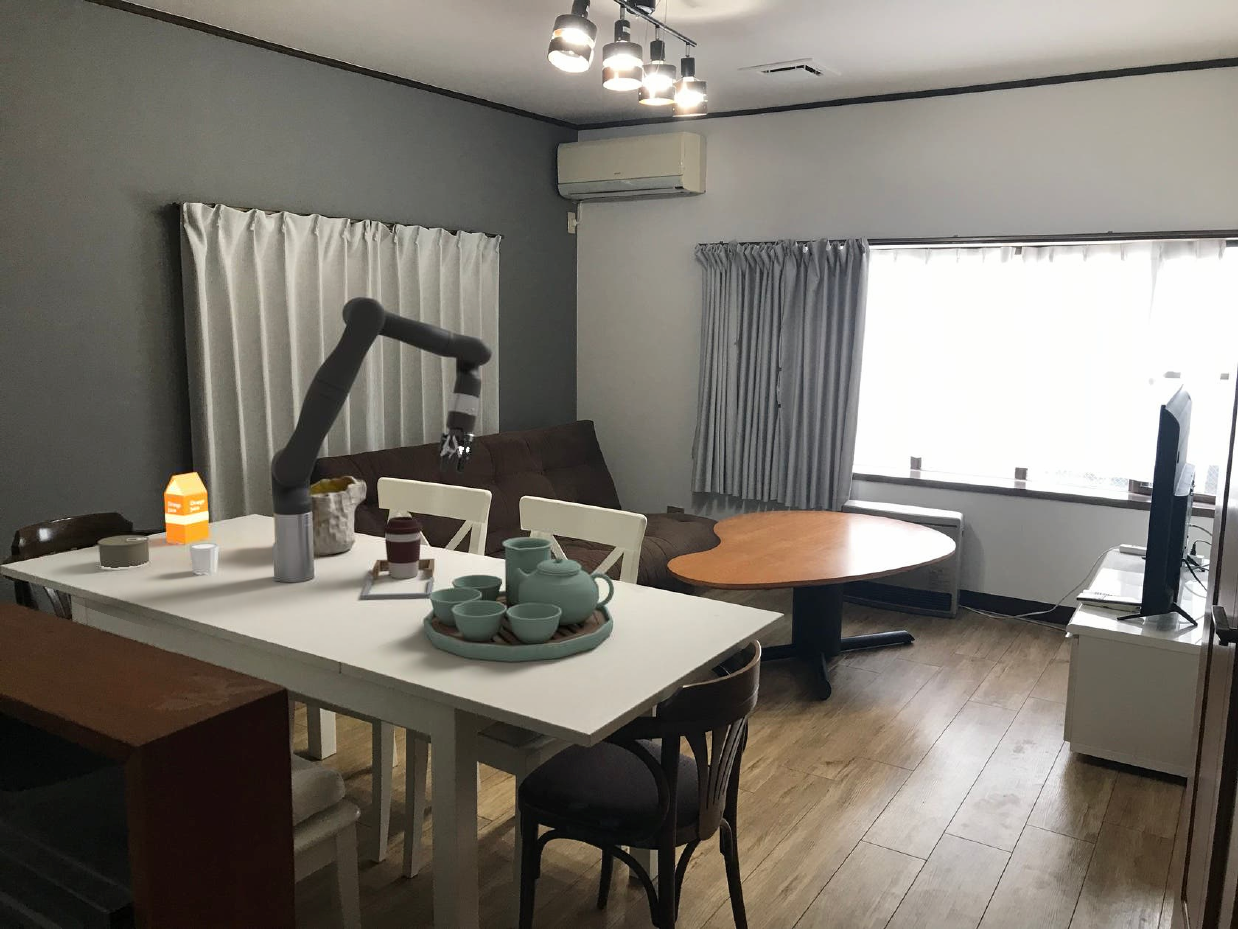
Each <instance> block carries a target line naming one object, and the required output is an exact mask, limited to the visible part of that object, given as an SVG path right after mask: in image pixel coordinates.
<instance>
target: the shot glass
mask: <svg viewBox="0 0 1238 929" xmlns="http://www.w3.org/2000/svg"><path fill="white" fill-rule="evenodd" d="M189 553H190V554H189V555H190V559H191V565H192V567H191V568H192V573H193V572H195V573H201V574H203V573H204V574H205V573H211V572H216V571H217V572H218V561H219V544H216V543H209V542H208V543H200V544H198V543H197V544H193V545H190V546H189ZM217 572H216V573H217Z"/></svg>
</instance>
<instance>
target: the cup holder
mask: <svg viewBox="0 0 1238 929" xmlns="http://www.w3.org/2000/svg"><path fill="white" fill-rule="evenodd" d="M380 569H389V566H388V561H387V559H376V560H375V563H374V565H373V567H372V570H371V575H372V576H371V579H373V581H377V580H378V578H379V577H378V576H379V574H380V572H381V570H380ZM418 570H428V578H427V579H428V580H430V577H434V572H435V558H420V559H419V563H418Z"/></svg>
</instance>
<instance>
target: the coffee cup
mask: <svg viewBox="0 0 1238 929" xmlns="http://www.w3.org/2000/svg"><path fill="white" fill-rule="evenodd" d="M422 531H423V524H422V523H421V522H419V521H418V520H417V518H415V517H412V516H394V517H391V518H389V519H388V522H387V523H385V524H383V525H382V532H383V534H385V539H384V542H385V550H386V553H385V554H386V560H387V561H388V566H389V570H388V575H389V577H390V578H392V577H393V579H397V578H398V580H407V579H412V578H415V577H417V576H418V574H419V569H418V563H419V559H421V557H420V556H421V542H422V540H421V532H422ZM406 578H407V579H406Z"/></svg>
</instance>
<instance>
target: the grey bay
mask: <svg viewBox="0 0 1238 929" xmlns="http://www.w3.org/2000/svg"><path fill="white" fill-rule="evenodd" d="M433 583H435V577H434V576H433V577H430V579H428V585H427V591H426V592H402V593H401V592H399V593H396V592H394V593H393V592H392V593H370V592H371V590H370V589H372V587H371V586H373V585H374V580H373V579H372V578H369V579H368V581H367V583H366V585H365V588H364V590H363V592H362V594H361V600H388V599H389V600H392V599H393V598H398V599H397V600H399V598H401V599H430V598H429V595H430V594H431V593H432V592H433V588H434V584H433ZM372 584H373V585H372ZM369 591H370V592H369Z"/></svg>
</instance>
